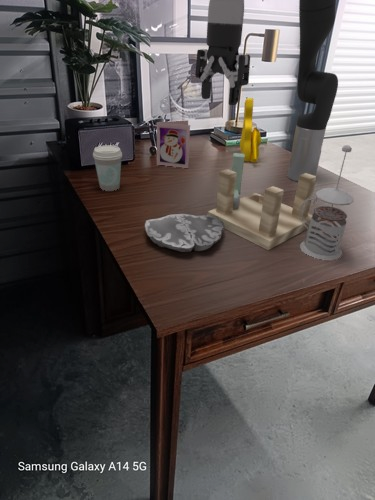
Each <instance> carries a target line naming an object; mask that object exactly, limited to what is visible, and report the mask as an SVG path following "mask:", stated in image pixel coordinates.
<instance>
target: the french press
mask: <svg viewBox="0 0 375 500" xmlns="http://www.w3.org/2000/svg"><path fill="white" fill-rule="evenodd" d="M341 151H342V152H344V156H343V157H344V158H343V161H342V164H341V168H340V172H339V175H338V180H337V183H336V184H337V185H336V187H324V188H322V189H321V188H320V189H319V190H317V191H316V192H315V195H312V197H310V198H312V199H310V198H308V199H306V200H305V202H307V201H309V200H311V201H312V200H313V203H312V204H313V205H315V204H316V203H317V201H318V200H320V201H321V202H324V203H326V204H329V205H331V206H329V205H325V206H324V205H322V206H317V207H316V208H314V209H313V213H312V214H311V215H312V216H311V221H310V224H309V223H308V222H306V221H305V219H304V218H303V214H302V210H303V205H304V204H305V202H304V203H303V204H302V205H301V207H302V209H301V207H300V211H301V214H302V218H303V220H304V221H305V222H306V223H307V224H308V225H309V228H308V227H307V226H306V225H305V224H303V222H302V221H301V217H300V211H299V218H300V221H301V222H302V224H303V225H304V226H305V227H307V229H306V234H305V238H304V240H303V241H302V242H301V243H300V244H299V247H300V250H301V252H302V253H304V254H305V255H306V254H307V255H306V256H308V255H309V256H308V257H310V256H312V257H314V258H313V259H315V258H317V259H316V260H319V259H322V260H321V261H324V260H331V259H336V258H338V257H339V256H341V253H342V254H343V251H342V250H341V247H340V246H341V243H342V240H343V236H344V233H345V230H346V225H347V220H346V218H347V217H348V215H347V213H346V212H345V211H343V210H342V209H340V208H336V207H334V206H350V205H351V204H352V203H354V201H355V198H354V196H353V195H351V193H349V192H348V191H347V190H344V189H341V188H339V184H340V183H339V182H340V180H341V175H342V171H343V167H344V163H345V160H346V157H347V156H346V155H347V153H351V152H352V147H351V146H350V145H349V144H347V145H343V146H342V148H341ZM333 205H334V206H333ZM319 222H320V223H319ZM327 222H328V223H327ZM336 222H337V223H336ZM332 225H333V226H332ZM322 231H323V232H322ZM312 257H311V258H312ZM341 257H342V256H341ZM336 260H337V259H336Z"/></svg>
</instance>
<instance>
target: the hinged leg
mask: <svg viewBox="0 0 375 500" xmlns="http://www.w3.org/2000/svg"><path fill="white" fill-rule="evenodd" d="M244 165H245V161H244V154H241V152H238V153H237V152H233V156H232V166H231V171H234V172H237V174H236V183H235V192H234V201H233V209H238V208H239V204H240V199H241V198H239V195H241V189H242V181H243V174H244V173H243V172H244Z"/></svg>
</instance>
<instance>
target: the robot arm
mask: <svg viewBox="0 0 375 500" xmlns="http://www.w3.org/2000/svg"><path fill="white" fill-rule="evenodd" d="M336 2H337V0H299V2H298V5H299V6H298V9H299V10H298V12H299V56H298V57H299V59H298V71H297V74H298V75H297V83H296V84H297V86H296V87H297V88H296V89H297V92H296V93H297V97H298V99H299V100H300V101H301V102H303V103H307V104H311V105H315V106H314V109H313V110H312V112H310V113H303V114H300V115H298V117H297V120H296V126H295V131H294V137H293V141H292V142H293V143H292V146H291V153H290V159H289V162H288V163H289V164H288V169H287V172H286V173H287V178H288V179H290V180H292V181H295V182H298V180H299V176H300V175H302V174H305V173H307V174H311V175H314V176H317V172H318V167H319V163H320V159H321V154H322V147H323V142H324V138H325V134H326V129H327V125H328V122H329V121H330V118H331V116H332V115H331V114H332V111H333V106H334V104H335V99H336V96H337V93H338V88H339V79H338V76H337V75H336V74H335V73H333V72H327V71H318V70H317V59H318V54H319V51H320V49H321V47H322V45H324V42H326V39H327V37H329V35H330V33H331V31H332V30H333V27H334V24H335V19H336V5H337V3H336ZM244 16H245V0H209V1H208V9H207V24H206V27H207V28H206V39H205V40H206V43H205V44H206V45H207V46H208V48H207V49H204V48H203V49H197V50H196V51H197V52H196V61H195V73H194V76H195V78H196V79H197V78H198V79H199V80H200V82H201V92H200V94H201V99H203V100H209V99H211V91H212V81H211V80H212V79H213V77H214V75H216V74H219V75H220V74H221V75H225V76H224V77H225V78H226V79H227V80H228V82H229V85H230V88H229V96H228V105H229V106H237V104H238V103H239V100H240V91H241V87H243V86H247V85H249V81H250V65H251V54H239V48H240V47H241V45H242V36H243V26H244Z"/></svg>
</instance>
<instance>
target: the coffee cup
mask: <svg viewBox="0 0 375 500" xmlns="http://www.w3.org/2000/svg"><path fill="white" fill-rule="evenodd" d="M92 157H93V159H94V160H93V161H94V164H95V170H96V174H97V178H98V179H97V180H98V184H99V188H101V189H102V190H101V189H100V190H101V191H104V190H105V191H104V192H114V190H115V191H117V189H118V190H119V189H120V184H121V169H122V168H121V167H122V157H123V152H122V151H121V148H120V147H119V146H116V145H100V146H96V147H94V149H93V153H92Z"/></svg>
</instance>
